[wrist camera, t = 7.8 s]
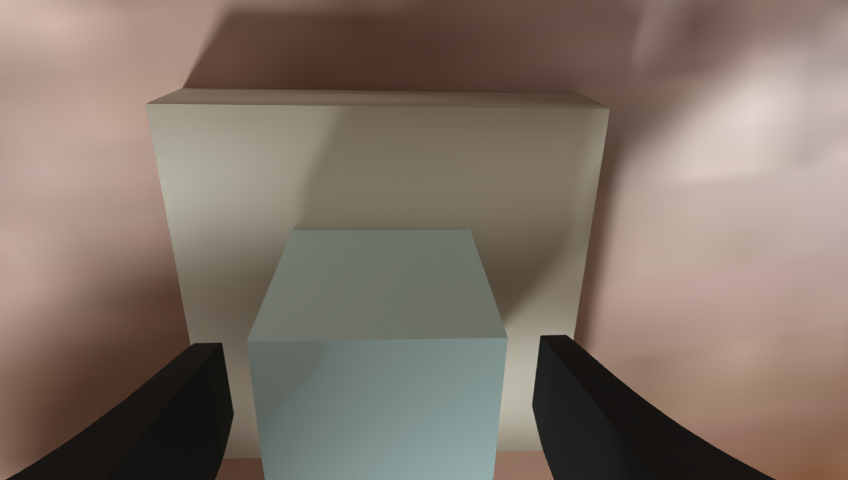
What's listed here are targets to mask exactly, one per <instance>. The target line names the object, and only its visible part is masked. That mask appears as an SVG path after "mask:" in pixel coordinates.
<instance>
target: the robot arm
mask: <svg viewBox="0 0 848 480" xmlns="http://www.w3.org/2000/svg"><path fill="white" fill-rule="evenodd" d="M532 408H533V413H534V417H535V421H536V426H537V430H538V434H539V438H540V442H541V446H542V449H543V451H544V454H545V457H546V459H547V462H548V465H549V467H550V470H551V473H552V475H553V478H554V480H776V479H773V478H771V477H769V476H767V475H765V474H763V473H762V472H760V471H758V470H756V469H754V468H752V467H750V466H748V465H747V464H745V463H743V462H741V461H739V460H737V459H735V458H734V457H732V456H730V455H728V454H726V453H725V452H723V451H721V450H720V449H718V448H716V447H714V446H713V445H711V444H709V443H708V442H706V441H705V440H703V439H701V438H700V437H698V436H697V435H695V434H694V433H692V432H690V431H689V430H687V429H686V428H684V427H682V426H681V425H679V424H678V423H677V422H675V421H674V420H672V419H671V418H669V417H668V416H666V415H665V414H664V413H662V412H661V411H660V410H658V409H657V408H655V407H654V406H653V405H651V404H650V403H649V402H647V401H646V400H645V399H643V398H642V397H641V396H639V395H638V394H637V393H636V392H634V391H633V390H632V389H630V388H629V387H628V386H627V385H625V384H624V383H623V382H622V381H621V380H619V379H618V378H617V377H616V376H614V375H613V374H612V373H611V372H610V371H609V370H607V369H606V368H605V367H604V366H603V365H602V364H600V363H599V362H598V361H597V360H596V359H595V358H593V357H592V356H591V355H590V354H589V353H588V352H586V351H585V350H584V349H583V348H582V347H581V346H580V345H578V344H577V343H576V342H575V341H574V340H572V339H571V338H570V337H569V336H567V335H540V342H539V351H538V359H537V367H536V375H535V384H534V392H533V400H532ZM233 417H234V411H233V405H232V399H231V393H230V387H229V381H228V375H227V369H226V363H225V357H224V351H223V345H222V342H218V343H194V344H192V345H191V346H190V347H188V348H187V349H186V350H185V351H183V352H182V353H181V354H180V355H178V356H177V357H176V358H175V359H174V360H172V361H171V362H170V363H169V364H168V365H166V366H165V367H164V368H163V369H162V370H160V371H159V372H158V373H157V374H156V375H154V376H153V377H152V378H151V379H150V380H148V381H147V382H146V383H145V384H143V385H142V386H141V387H140V388H139V389H137V390H136V391H135V392H134V393H132V394H131V395H130V396H129V397H127V398H126V399H125V400H124V401H122V402H121V403H120V404H118V405H117V406H116V407H114V408H113V409H112V410H110V411H109V412H108V413H106V414H105V415H104V416H102V417H101V418H100V419H98V420H97V421H96V422H94V423H93V424H92V425H90V426H89V427H88V428H86V429H85V430H84V431H82V432H81V433H79V434H78V435H76V436H75V437H74V438H72V439H71V440H69V441H68V442H66V443H65V444H63V445H62V446H60V447H59V448H57V449H56V450H54V451H52V452H51V453H49V454H48V455H46V456H45V457H43V458H41V459H40V460H38V461H37V462H35V463H34V464H32V465H30V466H29V467H27V468H25V469H24V470H22V471H20V472H19V473H17V474H15V475H13V476H12V477H10V478H8V479H6V480H215V478H216V476H217V473H218V470H219V468H220V465H221V462H222V460H223V457H224V453H225V450H226V446H227V442H228V438H229V434H230V430H231V425H232V421H233Z"/></svg>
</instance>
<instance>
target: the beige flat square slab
mask: <svg viewBox="0 0 848 480" xmlns="http://www.w3.org/2000/svg"><path fill="white" fill-rule="evenodd" d="M146 108H147V113H148V118H149V124H150V129H151V135H152V140H153V145H154V151H155V156H156V162H157V167H158V173H159V178H160V183H161V189H162V194H163V200H164V205H165V210H166V216H167V221H168V227H169V232H170V238H171V243H172V248H173V254H174V259H175V265H176V270H177V275H178V281H179V286H180V292H181V297H182V302H183V308H184V313H185V319H186V324H187V330H188V335H189V340H190V346H191V345H192V344H194V343H218V342H222V345H223V351H224V357H225V363H226V369H227V375H228V381H229V387H230V393H231V399H232V405H233V411H234V417H233V421H232V425H231V430H230V434H229V438H228V442H227V446H226V450H225V453H224V457H223V459H251V458H262V457H261V449H260V441H259V434H258V426H257V418H256V411H255V403H254V395H253V388H252V380H251V372H250V364H249V357H248V349H247V339H248V337H249V334H250V332H251V329H252V327H253V325H254V322H255V320H256V317H257V315H258V312H259V310H260V308H261V305H262V303H263V300H264V298H265V296H266V293H267V291H268V288H269V286H270V284H271V281H272V279H273V276H274V274H275V271H276V269H277V267H278V264H279V262H280V259H281V257H282V255H283V252H284V250H285V247H286V245H287V242H288V240H289V238H290V235H291V233H292V230H293V229H470V231H471V234H472V237H473V240H474V242H475V245H476V248H477V251H478V254H479V257H480V260H481V262H482V265H483V268H484V271H485V274H486V277H487V280H488V282H489V285H490V288H491V291H492V294H493V297H494V300H495V302H496V305H497V308H498V311H499V314H500V317H501V320H502V322H503V325H504V328H505V331H506V334H507V337H508V342H507V352H506V361H505V371H504V380H503V390H502V399H501V409H500V418H499V428H498V437H497V447H496V451H530V450H543V449H542V446H541V442H540V438H539V434H538V430H537V426H536V421H535V417H534V413H533V408H532V400H533V392H534V384H535V375H536V367H537V359H538V351H539V342H540V335H567V336H569V337H570V338H571V339H572V340H573V339H574V333H575V326H576V320H577V314H578V308H579V301H580V295H581V289H582V282H583V276H584V270H585V264H586V257H587V251H588V245H589V239H590V232H591V226H592V220H593V213H594V207H595V201H596V195H597V188H598V182H599V176H600V170H601V163H602V157H603V151H604V145H605V138H606V132H607V126H608V119H609V113H610V109H609V108H607V107H605V106H603V105H601V104H599V103H597V102H595V101H593V100H591V99H589V98H587V97H585V96H583V95H581V94H579V93H529V92H451V91H374V90H297V89H219V88H181V89H179V90H177V91H174V92H172V93H170V94H167V95H165V96H163V97H160V98H158V99H156V100H153V101H151V102H149V103H146Z"/></svg>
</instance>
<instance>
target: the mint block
mask: <svg viewBox="0 0 848 480" xmlns="http://www.w3.org/2000/svg"><path fill="white" fill-rule="evenodd" d="M507 342H508V337H507V334H506V331H505V328H504V325H503V322H502V320H501V317H500V314H499V311H498V308H497V305H496V302H495V300H494V297H493V294H492V291H491V288H490V285H489V282H488V280H487V277H486V274H485V271H484V268H483V265H482V262H481V260H480V257H479V254H478V251H477V248H476V245H475V242H474V240H473V237H472V234H471V231H470V229H293V230H292V233H291V235H290V238H289V240H288V242H287V245H286V247H285V250H284V252H283V255H282V257H281V259H280V262H279V264H278V267H277V269H276V271H275V274H274V276H273V279H272V281H271V284H270V286H269V288H268V291H267V293H266V296H265V298H264V300H263V303H262V305H261V308H260V310H259V312H258V315H257V317H256V320H255V322H254V325H253V327H252V329H251V332H250V334H249V337H248V339H247V349H248V357H249V364H250V372H251V380H252V388H253V395H254V403H255V411H256V418H257V426H258V434H259V441H260V449H261V457H262V464H263V472H264V480H493V475H494V466H495V456H496V447H497V437H498V428H499V418H500V409H501V399H502V390H503V380H504V371H505V361H506V352H507Z"/></svg>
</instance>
